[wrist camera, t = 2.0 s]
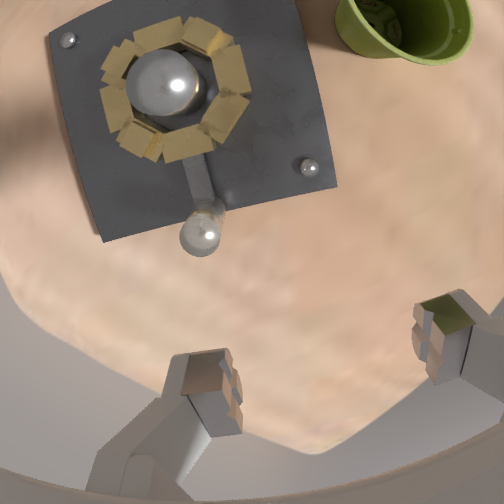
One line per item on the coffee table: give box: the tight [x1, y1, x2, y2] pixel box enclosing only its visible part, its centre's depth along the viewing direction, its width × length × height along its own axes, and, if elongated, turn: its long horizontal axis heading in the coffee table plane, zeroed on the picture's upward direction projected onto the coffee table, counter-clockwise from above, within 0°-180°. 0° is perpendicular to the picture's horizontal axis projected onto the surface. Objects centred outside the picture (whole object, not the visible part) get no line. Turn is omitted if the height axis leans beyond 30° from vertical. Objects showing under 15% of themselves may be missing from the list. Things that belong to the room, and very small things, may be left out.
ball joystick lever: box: [100, 16, 251, 257], centre depth 19 cm, size 16×10×6 cm, turn 13°
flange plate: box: [49, 0, 337, 243], centre depth 19 cm, size 20×20×8 cm
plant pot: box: [335, 0, 474, 65], centre depth 16 cm, size 9×9×9 cm
